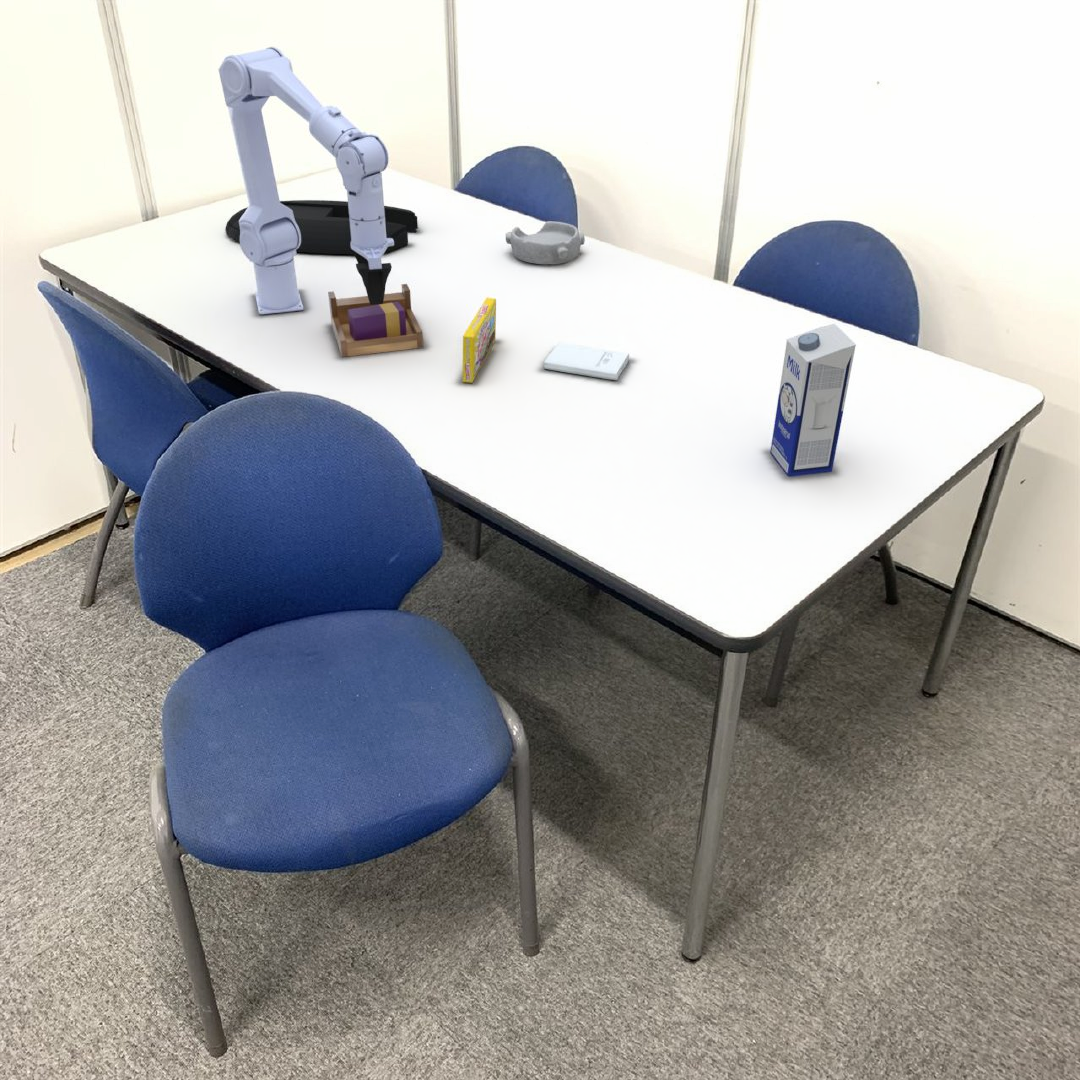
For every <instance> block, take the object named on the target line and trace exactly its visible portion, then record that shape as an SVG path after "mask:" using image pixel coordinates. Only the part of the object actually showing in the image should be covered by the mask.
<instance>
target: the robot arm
mask: <svg viewBox="0 0 1080 1080" xmlns="http://www.w3.org/2000/svg"><path fill="white" fill-rule="evenodd" d="M218 74H219V79H220V83H221V84H220V85H221V87H222V93H223V97H224V101H225V105H226V107H227V109H228V115H229V118H230V123H231V129H232V132H233V133H232V134H233V138H234V142H235V146H236V151H237V156H238V160H239V165H240V169H241V174H242V179H243V184H244V188H245V193H246V199H247V202H248V206H247V207H248V208H247V207H246V208H247V210H246V211H245V212H244V214H243V215H242V217H241V218H240V220H239V225H240V241H239V245H240V249H241V251H242V253H243V256H245V257H246V258H247V259H248V260H249V262H251V263H252V264H253V270H254V277H255V283H256V290H257V292H256V293H254V295H255V300H256V307H257V310H258V314H259V315H269V314H279V313H280V314H281V313H289V312H296V311H297V312H298V311H303V310H304V305H303V301H302V298H301V295H300V290H299V288H298V281H297V272H296V265H295V257H296V256H298V255H297V253H298V252H297V251H296V249H298V248H299V246H300V244H301V233H300V229H299V227H298V225H297V223H296V221H295V219H294V215H293V211H292V210H291V209H290V208H288V207H287V206H285V205H283V204H281V203H280V201H281V200H280V196H279V190H278V186H277V181H276V176H275V172H274V171H275V170H274V166H273V165H274V164H273V161H272V156H271V151H270V146H269V141H268V136H267V131H266V126H265V122H264V115H263V112H262V110H263V109H262V108H263V107H264V106H265V104H266V103H267V101H268V100H269V98H270V97H276V98H277V99H279V100H280V101H281V102H283V103H284V104H285V105H286V106H287V107H289V108H290V109H291V110H292V111H294V112H295V113H296V114H297V115H299V116H300V117H301V118H302V119H304V120H305V121H306V122H307V123H308V132H309V134H310V136H312V137H313V138H314V139H315V140H316V141H317V142H318V143H319V144H320V145H321V146H322V148H324V149H325V150H326V151H327V152H329V154H331V155H332V157H334V159H335V164H336V167H337V170H338V172H339V174H340V176H341V178H342V185H343V187H344V189H345V190H346V195H347V202H348V208H349V219H350V230H351V245H350V248H351V251H352V252H353V254H352V255H354V258H355V260H356V262H357V263H355V268H356V271H357V272H358V274H359V275H360V277H361V279H362V282H363V286H364V288H365V291H366V296H368V299H369V302H370V304H371V305H376V304H383V301H384V294H386V286H387V282H388V281H387V280H388V278H389V275H390V274H391V272H392V263H391V262H383V263H382V258H383V256H384V254H385V253H384V252H385V251H386V249H387V247H389V246H394V240H393V239H392V238H386V226H385V212H384V206H385V199H384V186H383V174H382V172H384V171H385V170H386V169H387V167H388V165H389V152H388V149H387V146H386V145H385V143H384V142H383V141H382V140H381V138H380V137H379V135H376V134H372V133H366V132H365V131H364V132H362V131H360V130H359V128H357V127H356V125H354V124H353V123H352V122H351V121H350V120H349V119H348V118H347V117H345V115H343V113H342V111H341V110H340V109H339V108H338V107H337V106H333V105H325V106H324V105H322V103H321V102H320V101H319V100H318V99H317V98H316V96H314V95H313V93H312V92H311V91H310V90H309V89H308V88H307V87H306V85H304V83H303V82H302V81H301V80H300V79H299V78H298V77H297V76H296V74H295V73H294V71H293V65H292V61H291V60H290V59H289V58H288V57H287V56H286V55H285V54H284V52H283V51H282V50H280V49H279V48H278V47H276V46H269V47H267V48H265V49H260V50H255V51H250V52H246V53H240V54H236V55H235V54H231V55H228V56H225V58H224V59H223V61H222V63H221V64H220V66H219V68H218Z"/></svg>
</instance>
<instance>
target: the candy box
mask: <svg viewBox="0 0 1080 1080" xmlns="http://www.w3.org/2000/svg"><path fill="white" fill-rule="evenodd" d="M496 325H497V298H495V297H494V298H493V297H486V298H485V300H484V301H483V302H482V304H481V305H480V307H479V309H478V310H477V312H476V314H475V316H474V317H473V319H472V321H471V322H470V324H469V326H467V329H466V330H465V332H464V333H463V335H462V383H468V384H469V383H470V384H472V383H473V382H474V381H475V379H476V377H477V376H478V374H479V371H481V368H482V367H483V366H484V365H483V364H484V363H485V361H486V359H487V358H488V356H489V353H490V352H491V350H492V348H493V346H494V345H495V343H496V334H497V333H496V332H497V326H496Z"/></svg>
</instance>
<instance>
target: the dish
mask: <svg viewBox="0 0 1080 1080" xmlns="http://www.w3.org/2000/svg"><path fill="white" fill-rule="evenodd" d="M505 241H506V244H508V245H510V247H511V251H512V254H513V256H514V257H515V258H516V259H518V260H520V261H523V262H526V263H529V264H537V265H559V264H564V263H568V262H571V261H572V260H574V259H575V258H577V257H578V256H579V254H580V251H581V246H583V245H584V244H585V242H586V240H585V234H584V233H583V232H581V233H580V232H579V229H578V228H577V227H576V226H575V225H574V224H571V223H566V222H562V221H551V220H548V221H546V222H545V223H544V224H543V225H542V227H541V228H540V230H539V231H537V232H535V233H533V234H527V233H525V232H524V231H523V230H521V228H520V227H518V226H516V227H514V228H513V229H512V230H511V231H508V232H506V233H505Z"/></svg>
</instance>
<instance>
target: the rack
mask: <svg viewBox="0 0 1080 1080" xmlns="http://www.w3.org/2000/svg"><path fill="white" fill-rule="evenodd" d="M327 296H328V305H329V313H330V323H331V329H332V331H333V335H334V337H335V340H336V343H337V346H338V349H339V352H340V356H341V357H342V358H345V357H353V356H363V355H370V354H371V355H372V354H379V353H389V352H396V351H405V350H414V349H422V348H424V339H423V338H424V337H423V336H424V335H423V329H422V327H421V325H420V324H419V322H418V320H417V318H416V316H415V313H414V312H413V310H412V300H411V298H412V297H411V289H410V288H409V286H408V283H402V284H401V292H391V293H385V294H384V301H383V304H386V303H393V302H399V303H400V305H401V306H402V307H403V308H404V310H405V318H406V332H407V334H406V335H401V336H393V337H385V338H376V339H367V340H358V341H354V339H353V338H352V336H351V334H350V329H349V319H348V309H355V308H361V307H367V306H374V305H371V304H370V302H369V299H368V296H367V295H363V296H354V297H352V296H351V297H345V298H344V297H343V298H337V297H336V294H335V291H334V290H333V291H328V292H327ZM376 305H379V304H376Z"/></svg>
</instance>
